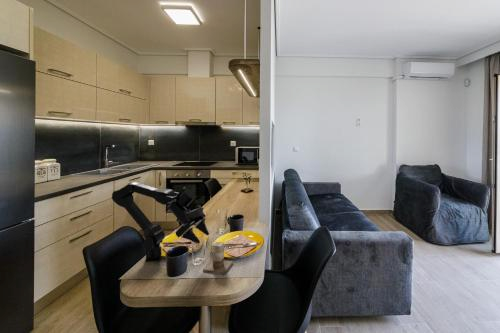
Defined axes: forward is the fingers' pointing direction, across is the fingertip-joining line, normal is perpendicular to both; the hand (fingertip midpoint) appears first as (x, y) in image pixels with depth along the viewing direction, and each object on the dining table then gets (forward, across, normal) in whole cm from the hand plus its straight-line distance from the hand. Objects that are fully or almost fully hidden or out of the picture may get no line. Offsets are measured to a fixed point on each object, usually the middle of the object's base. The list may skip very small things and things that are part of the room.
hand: (204, 238), depth 120 cm
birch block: (+11, 0, +2) cm, 11 cm away
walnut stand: (+14, 0, +4) cm, 14 cm away
